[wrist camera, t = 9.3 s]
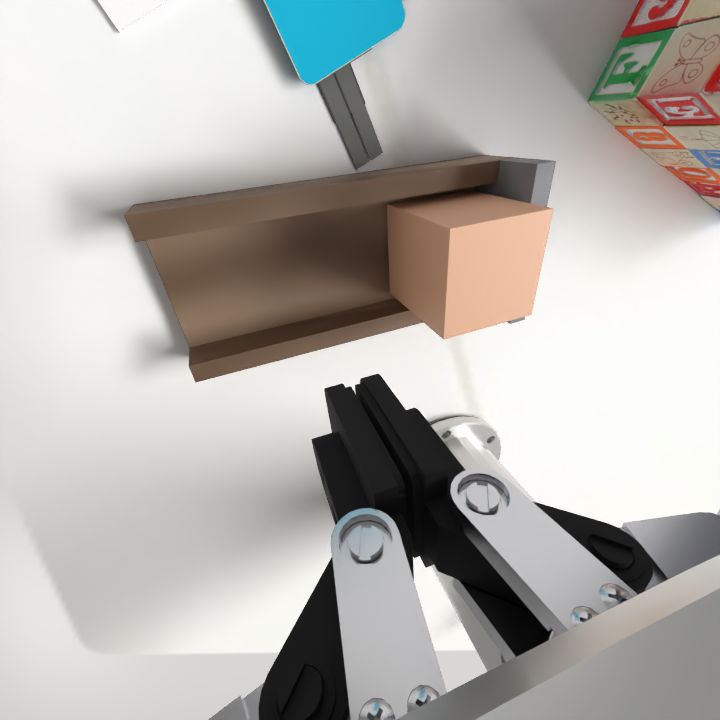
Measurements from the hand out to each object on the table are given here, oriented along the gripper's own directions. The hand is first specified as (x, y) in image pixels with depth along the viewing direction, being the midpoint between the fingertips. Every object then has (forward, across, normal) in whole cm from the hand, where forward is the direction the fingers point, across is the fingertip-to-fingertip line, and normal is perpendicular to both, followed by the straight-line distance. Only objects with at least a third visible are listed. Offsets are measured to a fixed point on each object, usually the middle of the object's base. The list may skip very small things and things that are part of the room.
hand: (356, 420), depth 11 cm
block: (+12, -8, -2) cm, 14 cm away
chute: (+11, -3, -2) cm, 12 cm away
